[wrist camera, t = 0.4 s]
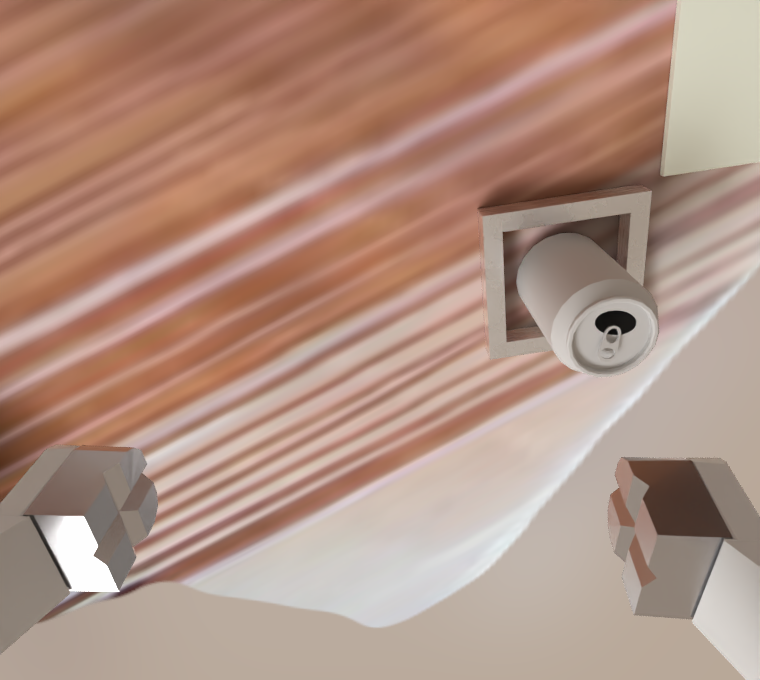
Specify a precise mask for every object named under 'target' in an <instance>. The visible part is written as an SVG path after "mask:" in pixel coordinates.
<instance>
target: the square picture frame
mask: <svg viewBox="0 0 760 680" xmlns="http://www.w3.org/2000/svg"><path fill="white" fill-rule="evenodd" d="M651 196H652V190H650V189H648V188H646V187H645V186H643V185H641V184H637V185H631V186H624V187H618V188H611V189H605V190H598V191H591V192H585V193H578V194H572V195H565V196H559V197H552V198H546V199H539V200H532V201H526V202H519V203H513V204H506V205H500V206H493V207H486V208H480V209H477V213H478V230H479V247H480V264H481V282H482V299H483V316H484V333H485V348H486V351H487V353H488V356H489V358H490V359H497V358H504V357H510V356H517V355H524V354H531V353H538V352H545V351H552V350H553V349H552V348H551V346H550V344H549V343H548V341H547V339H546V338H545V336H544V335H543V333H542V331H541V330H540V328H539V326H534V327H527V328H520V329H513V330H507V331H506V313H505V286H504V259H503V233H502V232H507V231H513V230H520V229H527V228H533V227H540V226H546V225H553V224H560V223H566V222H573V221H580V220H586V219H593V218H599V217H606V216H613V215H619V214H620V216H619V231H618V246H617V263H618V264H619V265H620V266H621V267H622V268H623V269H625V270H626V271H627V272H628V273H629V274H630V275H631V276H632V277H633V278H634V279H636V280H637V281H638V282H639V283H640V284H641V285H642V286H643V282H644V271H645V261H646V250H647V239H648V228H649V217H650V207H651Z"/></svg>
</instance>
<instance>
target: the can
mask: <svg viewBox="0 0 760 680" xmlns="http://www.w3.org/2000/svg"><path fill="white" fill-rule="evenodd" d="M516 283H517V288H518V293H519V296H520V297H521V299H522V300H523V302H524V304H525V305H526V307H527V309H528V310H529V312H530V313H531V315H532V317H533V318H534V320H535V322H536V323H537V325H538V326H539V328H540V330H541V331H542V333H543V335H544V336H545V338H546V339H547V341H548V343H549V344H550V346H551V348H552V349H553V351H554V352H555V354H556V355H557V357H558V358H559V360H560V362H562V363H563V364H565V365H566V366H567V367H569V368H570V369H572V370H575V371H579V372H582V373H584V374H587V375H591V376H594V377H612V376H615V375H619V374H623V373H625V372H627V371H629V370H631V369H632V368H634V367H636V366H638V365H639V364H640V363H641V362H642V361H643V360H644V359H645V358H646V357H647V356H648V355H649V353H650V352H651V350H652V349H653V347H654V346H655V344H656V341H657V337H658V334H659V325H658V309H657V305H656V303H655V301H654V299H653V297H652V295H651V293H650V292H649V291H648V290H646V289H645V288H644V287H643V286H642V285H641V284H640V283H639V282H638V281H637V280H636V279H634V278H633V277H632V276H631V275H630V274H629V273H628V272H627V271H626V270H625V269H623V268H622V267H621V266H620V265H619V264H618V263H617V262H616V261H615V260H614V259H613V258H611V257H610V256H609V255H608V254H607V253H606V252H605V251H604V250H603V249H602V248H601V247H599V246H598V245H597V244H596V243H595V242H594V241H592V240H591V239H590V238H589V237H586V236H583V235H580V234H577V233H560V234H557V235H553V236H550V237H547V238H545V239H544V240H542V241H541V242H539V243H537V244H536V245H534V246H533V247H532V249H531V250H530V251H529V252H528V253H527V254H526V255H525V256H524V258H523V260H522V262H521V264H520V266H519V269H518V274H517V281H516Z"/></svg>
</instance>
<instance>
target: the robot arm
mask: <svg viewBox="0 0 760 680" xmlns="http://www.w3.org/2000/svg"><path fill="white" fill-rule="evenodd" d="M146 465H147V463H146V461H145V458H144V456H143V453H142V451H141V450H139V449H136V448H130V447H108V446H86V445H82V446H72V445H54V446H52V447H49V448H47V449H46V450H45V451H44V452H43V453H42V455H41V456H40V457H39V458H38V459H37V460H36V462H35V463H34V464H33V465H32V466H31V468H30V469H29V470H28V471H27V472H26V473H25V475H24V476H23V477H22V478H21V479H20V481H19V482H18V483H17V484H16V485H15V487H14V488H13V489H12V490H11V491H10V492H9V494H8V495H7V496H6V497H5V498H4V500H3V501H2V502H1V503H0V654H1V653H3V652H4V651H5V650H6V649H7V648H8V647H9V646H11V645H12V644H13V643H14V642H15V641H16V640H17V639H19V638H20V637H21V636H22V635H23V634H24V633H25V632H26V631H28V630H29V629H30V628H31V627H32V626H34V625H35V624H36V623H37V622H38V621H39V620H40V619H42V618H43V617H44V616H45V615H46V614H47V613H48V612H50V611H51V610H52V609H53V608H54V607H55V606H56V605H58V604H59V603H60V602H61V601H62V600H63V599H65V598H66V597H67V596H68V595H69V594H70V591H119V590H120V588H121V586H122V584H123V582H124V580H125V578H126V576H127V574H128V573H129V571H130V569H131V567H132V565H133V563H134V561H135V559H136V554H135V550H134V546H135V545H136V544H137V543H139V542H140V541H142V540H143V539H144V538H146V537H147V536H148V534H149V532H150V530H151V528H152V526H153V524H154V522H155V517H156V512H157V507H158V500H157V492H156V489H155V486H154V483H153V482H152V481H151V480H150V479H148V478H147V477H146V476H145V475H144V474H142V472H143V470H144V469H145V467H146ZM615 477H616V480H617V483H618V485H619V488H618V489H617V490H616V491H614V492H613V493H612V494H611V495H610V500H609V506H608V529H609V535H610V540H611V543H612V547H613V550H614V553H615V554H616V555H617V556H619V557H620V558H621V559H622V560H623V561H624V562H625V566H624V570H623V574H622V579H623V582H624V586H625V589H626V592H627V595H628V598H629V601H630V604H631V607H632V610H633V613H634V615H639V616H653V617H667V618H681V619H693V620H692V623H693V624H694V625H695V626H696V627H697V628H698V629H699V630H700V631H701V632H702V634H703V635H704V636H705V637H706V638H707V639H708V640H709V641H710V642H711V643H712V644H713V645H714V646H715V647H716V648H717V649H718V650H719V652H721V654H722V655H723V656H724V657H725V658H726V659H727V660H728V661H729V662H730V663H731V664H732V665H733V666H734V667H735V669H736V670H737V671H738V672H739V673H740V674H741V675H742V676H743V677H744V678H745V679H746V680H760V517H759V515H758V513H757V511H756V510H755V508H754V506H753V505H752V503H751V501H750V500H749V498H748V497H747V495H746V493H745V492H744V490H743V489H742V487H741V485H740V484H739V482H738V480H737V479H736V477H735V475H734V474H733V472H732V470H731V469H730V467H729V466H728V464H727V462H725V461H724V460H722V459H721V458H686V459H684V458H637V457H636V458H635V457H631V458H630V457H621V459H620V461H619V462H618V464H617V469H616V472H615Z"/></svg>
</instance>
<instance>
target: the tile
mask: <svg viewBox="0 0 760 680" xmlns="http://www.w3.org/2000/svg"><path fill="white" fill-rule="evenodd" d="M757 162H760V0H677V7H676V17H675V27H674V37H673V47H672V57H671V68H670V78H669V88H668V98H667V108H666V119H665V129H664V139H663V149H662V159H661V170H660V175H661V176H663V177H665V176H671V175H678V174H685V173H691V172H698V171H704V170H711V169H717V168H724V167H730V166H737V165H744V164H750V163H757Z"/></svg>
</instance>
